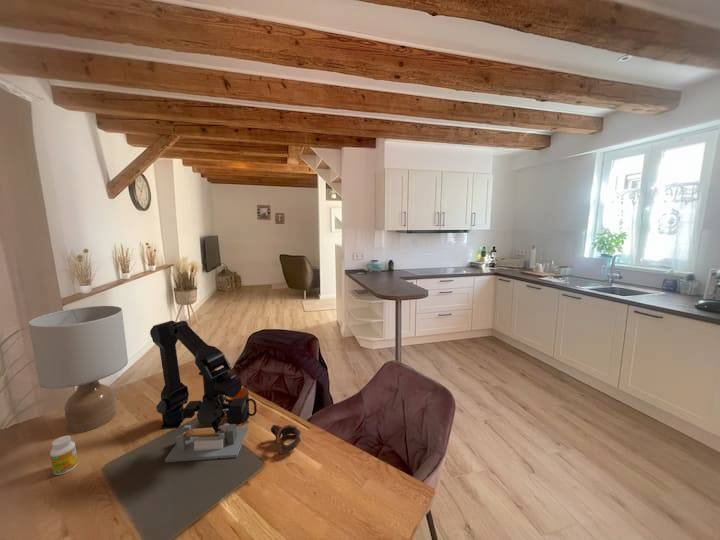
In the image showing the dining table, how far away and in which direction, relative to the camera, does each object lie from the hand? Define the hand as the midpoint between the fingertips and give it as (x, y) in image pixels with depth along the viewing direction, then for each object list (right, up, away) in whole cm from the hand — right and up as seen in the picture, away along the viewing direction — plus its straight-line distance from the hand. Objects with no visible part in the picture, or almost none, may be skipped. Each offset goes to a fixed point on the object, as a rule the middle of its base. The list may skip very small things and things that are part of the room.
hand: (216, 430), depth 98 cm
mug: (+3, -4, +14) cm, 15 cm away
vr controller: (+23, -6, +1) cm, 24 cm away
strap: (-4, -1, 0) cm, 4 cm away
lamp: (-53, -3, +12) cm, 55 cm away
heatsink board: (-3, -5, 0) cm, 6 cm away
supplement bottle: (-42, -6, -10) cm, 43 cm away
